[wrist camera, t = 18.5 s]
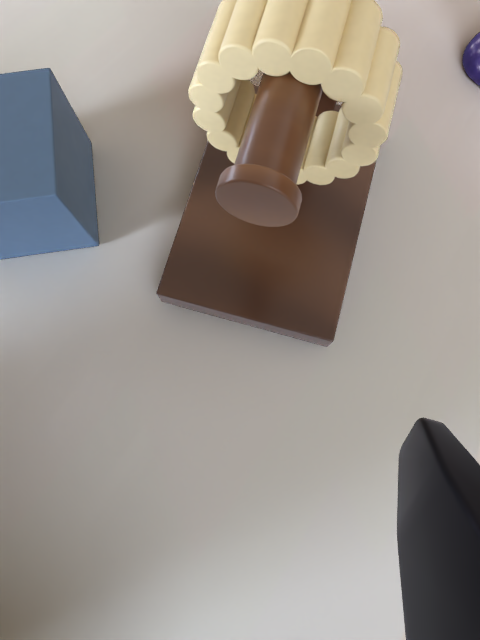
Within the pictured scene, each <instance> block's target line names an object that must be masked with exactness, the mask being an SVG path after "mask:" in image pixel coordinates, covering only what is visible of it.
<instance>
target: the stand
mask: <svg viewBox="0 0 480 640" xmlns="http://www.w3.org/2000/svg"><path fill="white" fill-rule="evenodd" d="M253 86H254V89H255V94H257V95H256V98H255V101H254V104H253V107H252V110H251V114H250V117H249V120H248V123H247V126H246V129H245V132H244V136H243V139H242V142H241V145H240V148H239V151H238V154H237V157H236V161H235V164H234V163H233V162H231V161H230V160H229V158H228V156H227V151H222V150H219V149H217V148H215V147H214V146H212V145H211V144H210V143H209V141H208V142H207V145H206V148H205V151H204V154H203V157H202V160H201V163H200V166H199V169H198V172H197V175H196V178H195V180H194V183H193V186H192V189H191V192H190V195H189V198H188V201H187V204H186V207H185V210H184V213H183V216H182V219H181V222H180V225H179V228H178V231H177V234H176V237H175V240H174V243H173V245H172V248H171V251H170V254H169V257H168V260H167V263H166V266H165V269H164V272H163V275H162V278H161V281H160V284H159V287H158V290H157V295H158V296H159V298H160V299H161V301H162V302H166V303H169V304H173V305H176V306H180V307H184V308H187V309H191V310H195V311H198V312H202V313H206V314H209V315H213V316H217V317H220V318H224V319H228V320H231V321H235V322H239V323H242V324H246V325H250V326H253V327H257V328H261V329H264V330H268V331H272V332H275V333H279V334H283V335H286V336H290V337H294V338H297V339H301V340H305V341H308V342H312V343H316V344H319V345H323V346H328V345H329V344H331V343H332V342H333V340H334V336H335V332H336V328H337V324H338V319H339V315H340V311H341V307H342V303H343V298H344V294H345V290H346V286H347V282H348V277H349V273H350V269H351V265H352V260H353V256H354V252H355V248H356V244H357V239H358V235H359V231H360V227H361V223H362V218H363V214H364V210H365V206H366V202H367V197H368V193H369V189H370V185H371V180H372V176H373V172H374V168H375V164H376V161H375V162H374V163H372V164H370V165H367V166H360V169H359V172H358V173H357V174H356V175H355V176H354V177H351V178H345V179H344V178H337V177H335V178H334V180H333V181H332V182H331V183H330V184H326V185H317V184H313V183H311V182H309V181H306V182H305V183H303V184H296V183H297V180H298V176H299V173H300V169H301V166H302V162H303V158H304V155H305V151H306V148H307V144H308V141H309V137H310V133H311V130H312V126H313V123H314V119H315V116H316V117H318V116H319V115H320V114H321V113H323V112H325V111H337V112H339V110H340V108H341V107H342V106H341V105H337V104H336V102H337V101H335V100H332V99H331V98H329V97H328V96H327V95H326V94H325V93H324V92H323V90H322V87H321V84H318V85H308V84H304V83H302V82H300V81H298V80H297V79H296V78H294V77H293V75H292V74H291V72H289V73H287V74H286V75H283V76H270V75H267V74H265V73H263V76H262V79H261V82H260V85H259V86H255V85H253Z"/></svg>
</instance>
